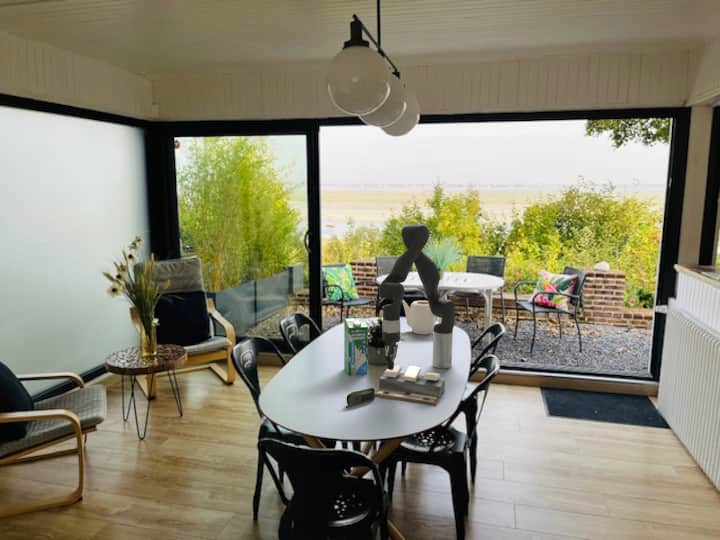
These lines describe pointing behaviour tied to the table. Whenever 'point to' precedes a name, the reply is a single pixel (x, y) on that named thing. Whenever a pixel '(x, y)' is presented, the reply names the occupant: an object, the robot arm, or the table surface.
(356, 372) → the milk carton
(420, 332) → the watering can
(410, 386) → the switch box
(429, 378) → the cream box
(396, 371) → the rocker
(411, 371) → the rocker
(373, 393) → the mobile phone
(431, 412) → the table surface
